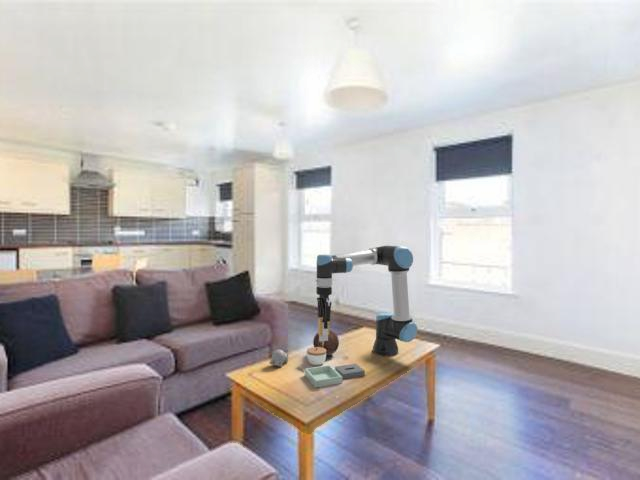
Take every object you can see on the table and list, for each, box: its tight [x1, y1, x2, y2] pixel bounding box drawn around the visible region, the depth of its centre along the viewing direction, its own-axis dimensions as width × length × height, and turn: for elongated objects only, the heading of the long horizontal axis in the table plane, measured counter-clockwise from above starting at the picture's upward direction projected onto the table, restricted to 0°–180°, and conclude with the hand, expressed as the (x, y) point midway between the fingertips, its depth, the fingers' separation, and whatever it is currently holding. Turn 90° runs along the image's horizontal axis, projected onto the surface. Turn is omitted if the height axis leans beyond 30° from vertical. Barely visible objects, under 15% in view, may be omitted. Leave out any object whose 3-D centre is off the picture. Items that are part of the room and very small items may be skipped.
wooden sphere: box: [312, 329, 340, 357], centre depth 212 cm, size 15×15×15 cm
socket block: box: [334, 363, 366, 380], centre depth 185 cm, size 12×10×3 cm
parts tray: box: [304, 364, 343, 389], centre depth 178 cm, size 14×16×4 cm
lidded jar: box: [306, 346, 327, 366], centre depth 198 cm, size 11×11×9 cm
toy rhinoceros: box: [269, 349, 290, 368], centre depth 197 cm, size 7×12×8 cm, turn 140°
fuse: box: [317, 316, 331, 342], centre depth 177 cm, size 5×3×12 cm, turn 111°
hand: (323, 333), depth 177 cm, fingers closed on fuse, 3 cm apart
